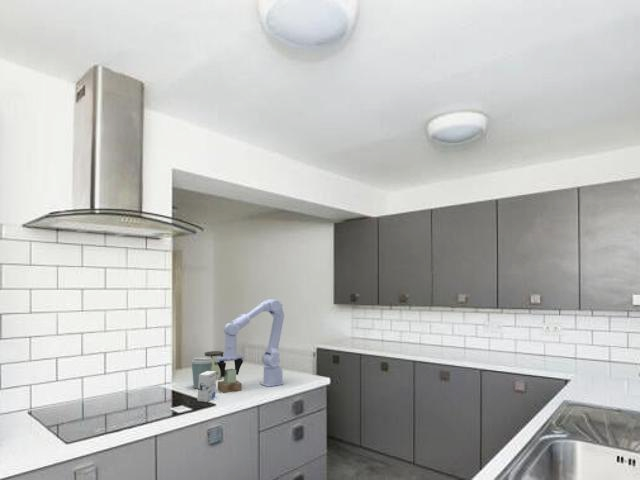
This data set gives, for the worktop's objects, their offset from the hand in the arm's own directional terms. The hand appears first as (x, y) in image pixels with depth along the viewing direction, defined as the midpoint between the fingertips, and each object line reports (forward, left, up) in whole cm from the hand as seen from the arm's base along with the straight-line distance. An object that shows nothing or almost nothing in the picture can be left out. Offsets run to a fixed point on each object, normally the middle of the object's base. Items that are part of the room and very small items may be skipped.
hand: (229, 375), depth 211 cm
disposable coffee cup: (+9, -13, -7) cm, 17 cm away
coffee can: (-5, -29, -7) cm, 30 cm away
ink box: (+16, +9, -7) cm, 20 cm away
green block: (0, 0, -3) cm, 3 cm away
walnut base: (0, 0, -7) cm, 7 cm away
